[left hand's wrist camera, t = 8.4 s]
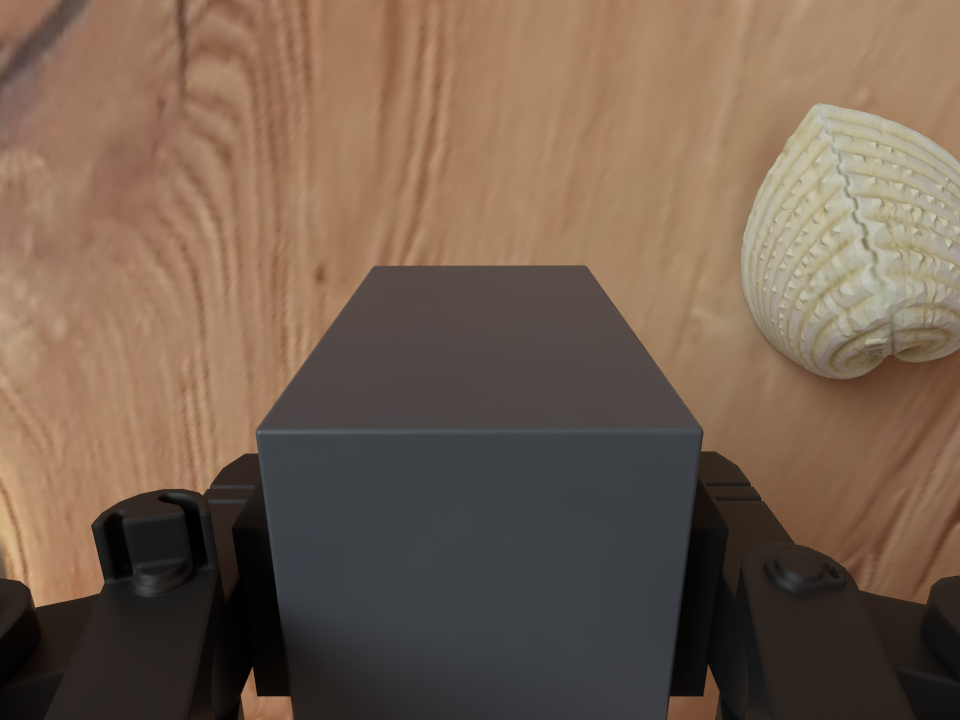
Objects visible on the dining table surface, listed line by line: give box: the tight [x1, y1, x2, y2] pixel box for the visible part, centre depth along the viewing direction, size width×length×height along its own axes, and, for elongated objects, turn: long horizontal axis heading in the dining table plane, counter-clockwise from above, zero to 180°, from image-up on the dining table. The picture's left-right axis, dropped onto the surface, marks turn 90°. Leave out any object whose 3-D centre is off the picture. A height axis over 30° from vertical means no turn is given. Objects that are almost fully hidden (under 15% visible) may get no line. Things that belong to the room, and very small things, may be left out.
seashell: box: [741, 103, 960, 379], centre depth 23 cm, size 8×8×8 cm
